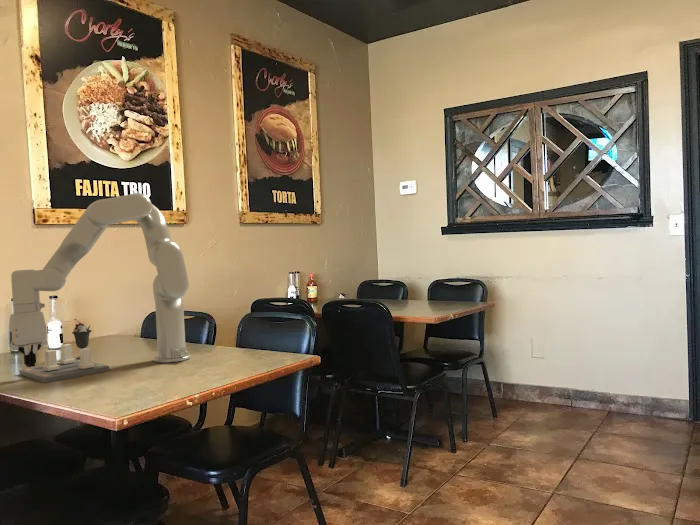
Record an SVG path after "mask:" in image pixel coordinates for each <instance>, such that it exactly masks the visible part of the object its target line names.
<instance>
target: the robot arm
mask: <svg viewBox="0 0 700 525" xmlns="http://www.w3.org/2000/svg"><path fill="white" fill-rule="evenodd" d="M129 221H130V222H131V221H135V222H136V223H137V224H139V226H140V229H141V231H142V233H143V237H144V241H145V245H146V250H147V256H148V259H149V263H151V264H152V265H153V266H154V267H155V268H156V272H157V275H156V276H154V280H153V284H152V290H153V291H152V292H153V297H154V298H153V299H154V307H155V322H156V342H157V355H156V356H154V357H153V362H155V363H177V362H181V361H182V362H183V361H187V360H189V359H191V353H190V351H188V350H187V346H186V331H185V328H186V327H185V309H184V308H185V307H184V302H183V301H184V300H183V297H184V296H185V295H186V294H187V293H188V290H189V286H190V283H189V276H188V273H187V272H188V271H187V267H186V263H185V259H184V258H185V257H184V254H183V251H182V249H181V247H180V246H179V245H178V244H177V243H176V242H175V241H172V238H171V235H170V234H171V233H170V230H169V227H168V224H167V223H168V222H167V221H166V218H165V216H164V215H163V213H162V212H161V210H160V209H159V208H158V207H157V206H155V205H154V204H152V201H151V199H150V198H149V196H147V195H146V194H144V193H138V192H136V193H130V194H126V195H120V196H115V197H109V198H102V199H97V200H96V201H93V202H92V203H90V204H89V205H88V207H86V209H85V210H84V212H83V213H82V215H81V216H80V217H79V219H77V221H76V223H75V224H74V225H73V226H72V228H71V229H70V231H69V232H68V233H67V234H66V236H65V237H64V239H63V240H62V242H61V243H60V245H59V246H58V248H57V250H55V252H54V253H53V254H52V256H51V257H50V259H49V260H48V261H47V263H46V264H45V265H44V266H43V268H42V269H19V270H18V269H17V270H14V271H12V272H11V275H10V278H11V280H10V281H11V292H12V293H11V295H12V296H11V297H12V309H13V310H12V311H13V312H12V313H11V314H10V316H9V322H8V343H9V345H10V347H9V349H10V350H11V351H19V352H20V353H21V354H22V355H23V361H24V362H23V364H24V365H25V366H26V367H27V368H33V367H36V363H37V353H38V351H39V350H40V349H41V348H42V347H46V346H47V345H48V330H47V324H46V318H45V316H44V312H43V311H42V308H43V309H44V308H45V307H46V305H45V303H41V300H40V299H41V297H40V292H56V291H57V292H58V291H60V290H61V289H63V287H64V286H65V284H66V282H67V280H66V278H67V277H68V276H69V274H70V273H71V272H72V270H73V269H74V268H75V266H76V265H77V264H78V263H79V261H81V260H82V259H83V258H84V257H86V255H88V253H89V252H90V251H91V250H92V249H93V247H94V246H95V245H96V243H97V242H98V240H99V239H100V237H101V236H102V235H103V233H104V232H105V231H106V230H107V227H108V226H109V225H115V224H120V223H125V222H129ZM29 345H30V347H29Z"/></svg>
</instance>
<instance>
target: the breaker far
mask: <svg viewBox="0 0 700 525" xmlns="http://www.w3.org/2000/svg"><path fill="white" fill-rule="evenodd" d="M60 349H61V350H60V352H61V353H60V354H61V359H59V360H58V361H59V363H63V364H66V363H72V362H75V360H76V358H73V346H72V344H71V343H66V344H61V345H60Z"/></svg>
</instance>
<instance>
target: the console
mask: <svg viewBox="0 0 700 525" xmlns="http://www.w3.org/2000/svg"><path fill="white" fill-rule="evenodd" d="M92 363H93V364H94V367H90V368H85V369H82V368H78V364H80V359H75V362H72V363H66V364H63V363H60V362H57V365H59V366H60V369H55V370H50V371H47V370H44V369H43V366H46V365H40V366H34V367H27V368H23V369H19V375H21V376H23V377H27V378H30V379H33V380H35V381H39V382H41V383H45V384H47V383H53V382H57V381H63V380H68V379H74V378H79V377H83V376H88V375H95V374H98V373H99V374H100V373H103V372H105V373H106V372H109V371H110V365H107V364H102V363H98V362H94V361H92Z"/></svg>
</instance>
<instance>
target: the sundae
mask: <svg viewBox="0 0 700 525" xmlns="http://www.w3.org/2000/svg"><path fill="white" fill-rule="evenodd" d="M74 321H76V324H75V327H74V329H73V330H72V333H71V334H73V336H74V339H75V340H74V341H75V346H76V347H77V348H78V349H79V350H80V349H83V348H88V346H89V343H90V339H89V338H90V333H91V332H93V331H92V330H91V329H90V327H91V325H89V326H87V325H86V324H84V323H82V322H80V321H79V320H78V319H77V318H74ZM79 359H80V356H78V357H76V358H75V360H79Z"/></svg>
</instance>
